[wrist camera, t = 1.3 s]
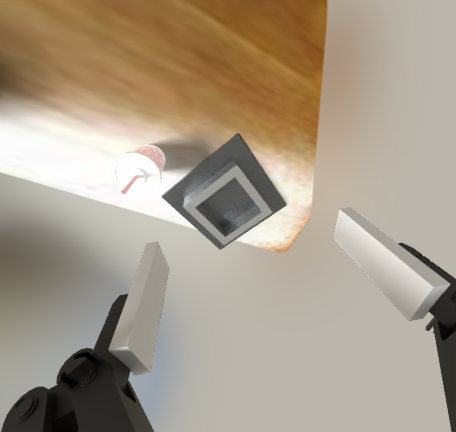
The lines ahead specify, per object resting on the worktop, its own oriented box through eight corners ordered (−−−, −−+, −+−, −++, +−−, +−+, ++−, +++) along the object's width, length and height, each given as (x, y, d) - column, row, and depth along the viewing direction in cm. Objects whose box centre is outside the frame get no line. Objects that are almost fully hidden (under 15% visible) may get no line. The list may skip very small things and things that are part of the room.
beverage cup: (131, 135, 31) (88, 159, 19) (171, 143, 32) (153, 170, 20) (133, 172, 34) (96, 212, 22) (168, 178, 35) (152, 218, 23)
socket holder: (162, 194, 37) (157, 205, 33) (236, 132, 33) (241, 137, 29) (219, 247, 46) (221, 260, 42) (284, 203, 42) (292, 213, 38)
